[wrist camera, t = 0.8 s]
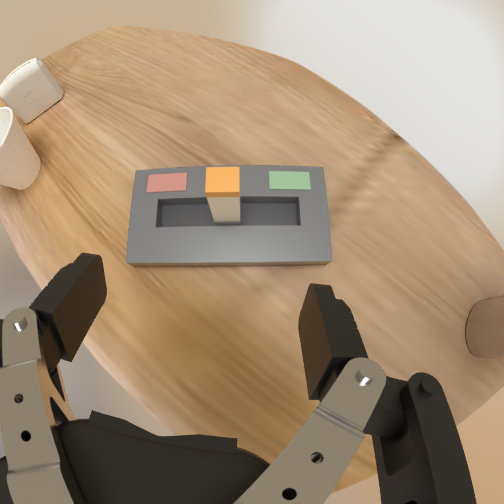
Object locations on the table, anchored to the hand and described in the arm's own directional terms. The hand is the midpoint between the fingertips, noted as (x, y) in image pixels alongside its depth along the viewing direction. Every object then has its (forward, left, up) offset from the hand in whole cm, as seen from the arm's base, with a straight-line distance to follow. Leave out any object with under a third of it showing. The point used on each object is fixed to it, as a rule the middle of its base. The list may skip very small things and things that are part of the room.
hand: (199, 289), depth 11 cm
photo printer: (+15, -50, -25) cm, 58 cm away
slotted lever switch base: (-5, -9, -24) cm, 27 cm away
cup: (+21, -36, -25) cm, 48 cm away
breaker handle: (-5, -9, -23) cm, 25 cm away
